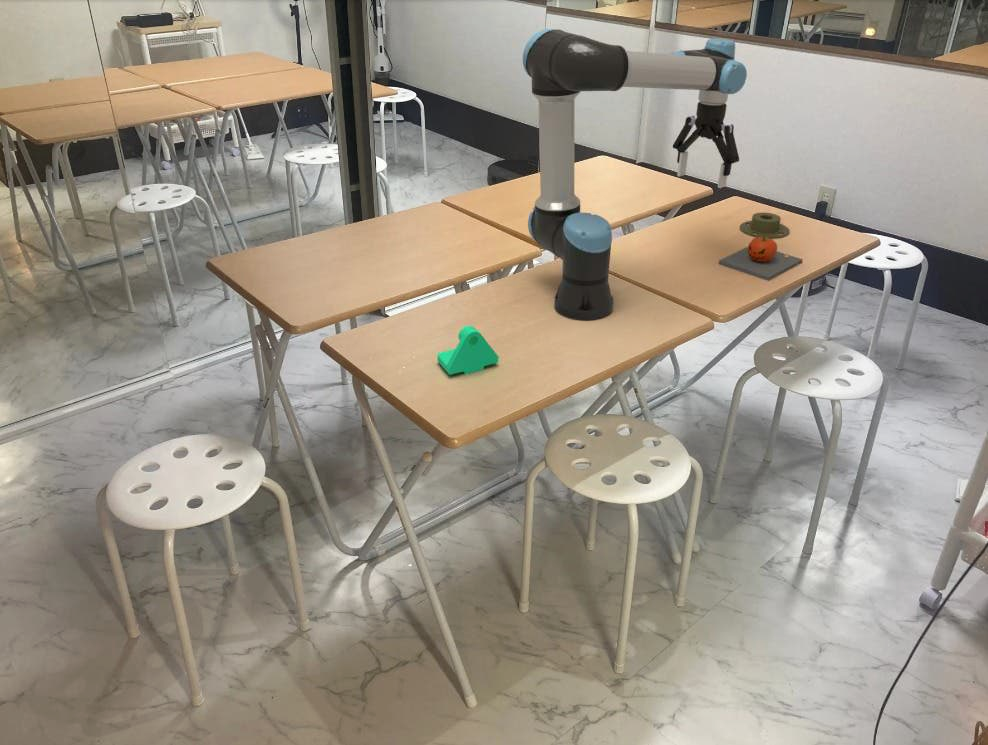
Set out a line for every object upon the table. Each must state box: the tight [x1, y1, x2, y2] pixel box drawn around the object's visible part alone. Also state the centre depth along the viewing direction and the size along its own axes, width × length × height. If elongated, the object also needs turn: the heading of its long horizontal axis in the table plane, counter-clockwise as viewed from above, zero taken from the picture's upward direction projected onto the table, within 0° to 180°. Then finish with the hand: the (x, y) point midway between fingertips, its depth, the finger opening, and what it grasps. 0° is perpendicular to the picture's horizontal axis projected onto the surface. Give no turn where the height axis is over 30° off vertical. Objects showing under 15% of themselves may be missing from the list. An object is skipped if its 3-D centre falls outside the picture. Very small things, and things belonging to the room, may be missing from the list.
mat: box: [718, 246, 804, 281], centre depth 228 cm, size 18×16×1 cm
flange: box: [739, 212, 790, 240], centre depth 250 cm, size 5×15×15 cm
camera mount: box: [436, 325, 499, 376], centre depth 178 cm, size 12×8×10 cm, turn 116°
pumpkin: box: [747, 236, 778, 262], centre depth 226 cm, size 8×8×7 cm
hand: (700, 181), depth 222 cm, fingers open, 13 cm apart
